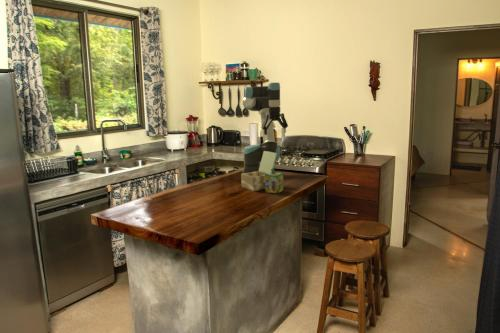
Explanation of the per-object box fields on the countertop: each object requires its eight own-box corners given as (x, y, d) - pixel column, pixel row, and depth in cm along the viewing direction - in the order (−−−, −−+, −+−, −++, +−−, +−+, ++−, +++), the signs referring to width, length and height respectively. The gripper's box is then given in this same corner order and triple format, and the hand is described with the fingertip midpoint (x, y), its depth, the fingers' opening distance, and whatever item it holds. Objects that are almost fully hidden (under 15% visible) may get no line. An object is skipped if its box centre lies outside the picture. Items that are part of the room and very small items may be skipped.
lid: (258, 171, 266) (259, 171, 266) (270, 174, 254) (271, 174, 255) (263, 150, 266) (264, 151, 267) (276, 153, 255) (277, 153, 255)
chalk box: (278, 194, 241) (277, 170, 238) (264, 192, 245) (264, 169, 242) (284, 190, 249) (283, 167, 246) (270, 189, 253) (270, 166, 250)
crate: (258, 184, 268) (258, 171, 266) (271, 187, 256) (270, 174, 254) (241, 187, 260) (241, 174, 259) (253, 191, 249) (252, 177, 247)
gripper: (286, 105, 267) (286, 136, 271) (255, 107, 254) (256, 139, 258) (293, 105, 261) (293, 137, 265) (262, 107, 248) (262, 140, 252)
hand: (275, 138), depth 262 cm, fingers open, 13 cm apart
